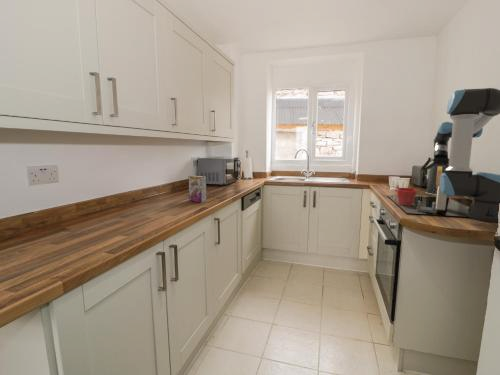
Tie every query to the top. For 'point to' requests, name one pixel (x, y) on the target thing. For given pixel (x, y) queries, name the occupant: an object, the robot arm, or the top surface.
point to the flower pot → (406, 196)
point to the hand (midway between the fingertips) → (441, 179)
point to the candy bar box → (197, 188)
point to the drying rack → (426, 208)
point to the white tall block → (440, 200)
